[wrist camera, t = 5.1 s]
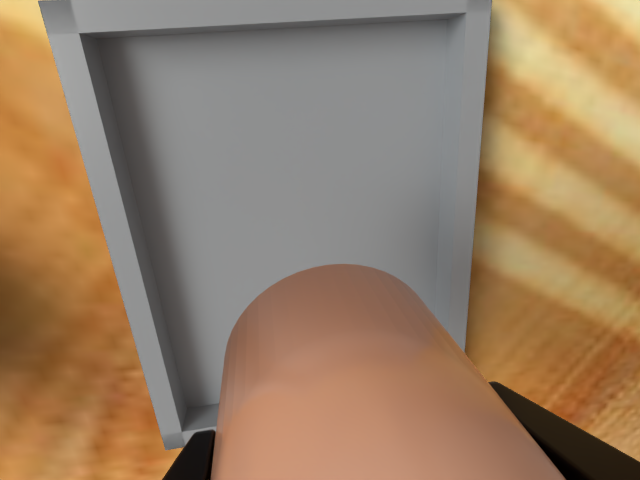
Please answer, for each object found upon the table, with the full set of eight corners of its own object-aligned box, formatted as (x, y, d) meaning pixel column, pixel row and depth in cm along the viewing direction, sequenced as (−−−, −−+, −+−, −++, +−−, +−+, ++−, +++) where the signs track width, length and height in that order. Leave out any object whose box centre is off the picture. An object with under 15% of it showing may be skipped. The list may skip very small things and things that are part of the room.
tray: (464, -6, 17) (493, -20, 15) (443, 372, 24) (461, 398, 22) (67, 12, 15) (38, 0, 13) (173, 417, 22) (165, 450, 20)
